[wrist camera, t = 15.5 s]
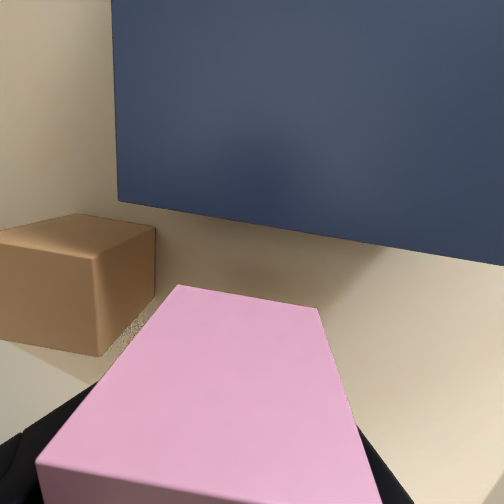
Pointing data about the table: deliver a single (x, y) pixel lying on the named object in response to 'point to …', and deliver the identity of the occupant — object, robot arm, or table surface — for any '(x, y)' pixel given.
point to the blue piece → (318, 117)
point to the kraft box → (74, 281)
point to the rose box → (214, 414)
